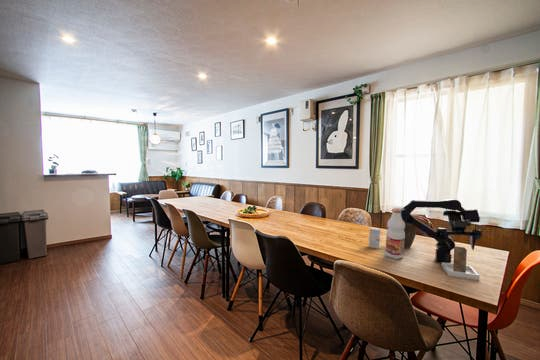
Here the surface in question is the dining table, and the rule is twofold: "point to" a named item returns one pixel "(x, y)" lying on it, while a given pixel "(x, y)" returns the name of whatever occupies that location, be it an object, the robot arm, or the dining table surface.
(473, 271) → the tray
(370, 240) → the skincare box
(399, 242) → the fruit juice
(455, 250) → the walnut block
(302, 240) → the dining table surface
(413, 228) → the plant pot
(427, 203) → the robot arm
